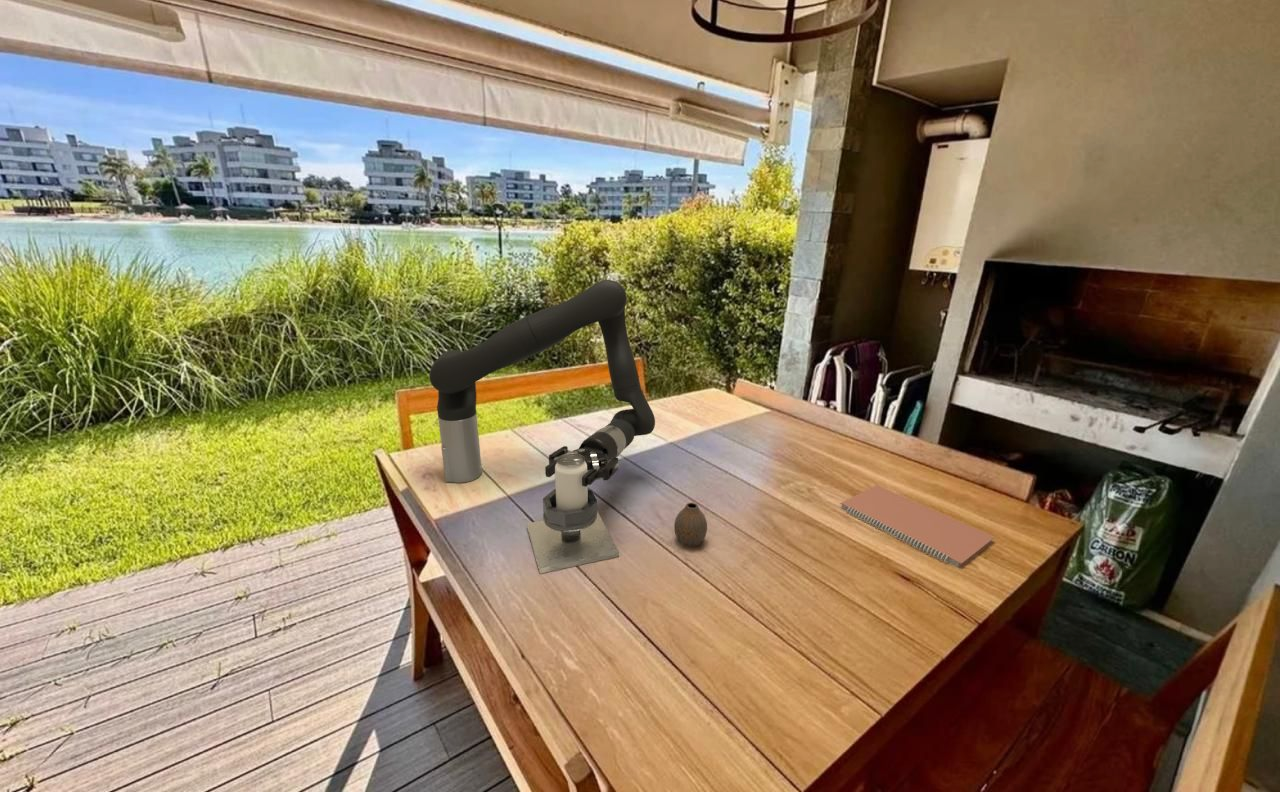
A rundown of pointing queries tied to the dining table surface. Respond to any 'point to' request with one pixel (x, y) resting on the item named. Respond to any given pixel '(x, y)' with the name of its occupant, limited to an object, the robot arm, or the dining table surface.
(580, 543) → the cup bracket
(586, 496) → the can
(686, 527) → the vase
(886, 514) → the notebook
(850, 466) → the dining table surface
